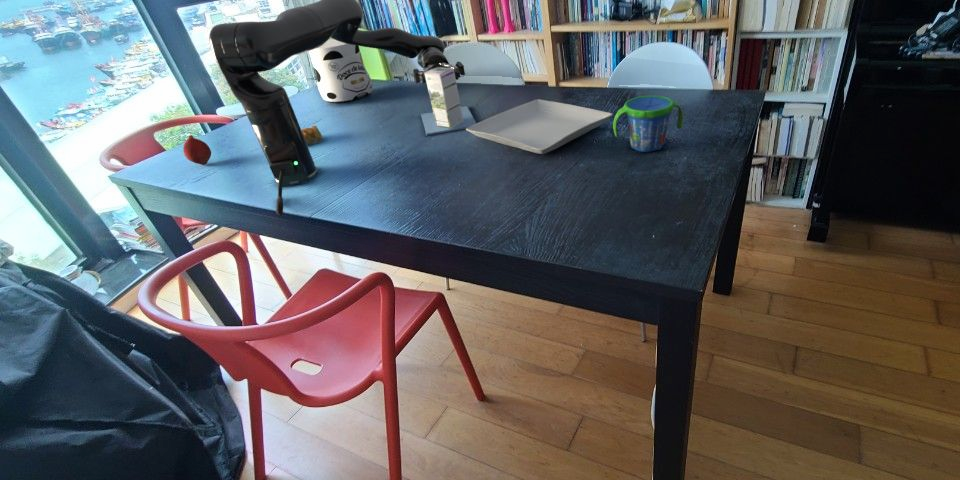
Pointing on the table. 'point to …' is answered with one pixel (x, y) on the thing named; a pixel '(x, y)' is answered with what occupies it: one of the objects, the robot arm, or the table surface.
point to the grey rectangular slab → (433, 129)
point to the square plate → (539, 125)
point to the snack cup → (648, 121)
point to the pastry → (312, 135)
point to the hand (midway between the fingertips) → (441, 78)
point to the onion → (196, 150)
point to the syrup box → (444, 97)
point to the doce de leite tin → (340, 72)
